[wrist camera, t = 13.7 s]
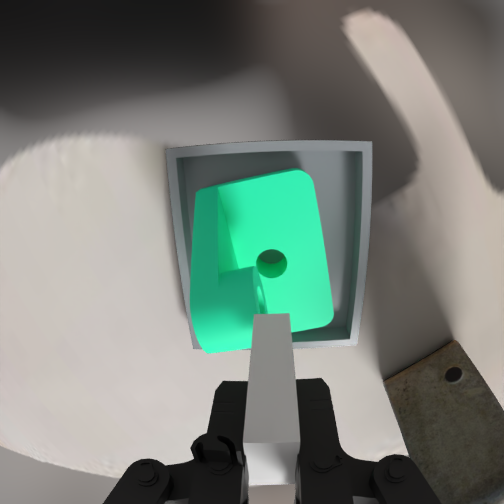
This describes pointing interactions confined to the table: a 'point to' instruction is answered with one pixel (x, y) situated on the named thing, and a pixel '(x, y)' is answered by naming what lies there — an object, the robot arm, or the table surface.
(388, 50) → the table surface
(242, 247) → the camera mount
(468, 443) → the vintage camera
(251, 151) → the tray
